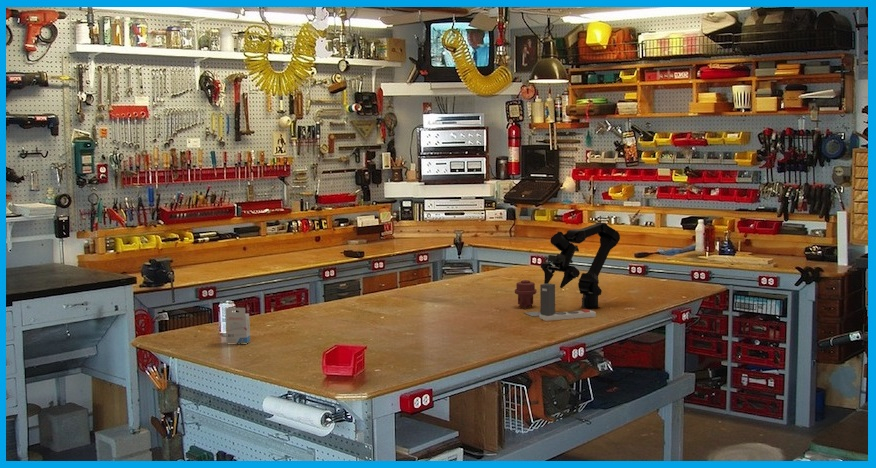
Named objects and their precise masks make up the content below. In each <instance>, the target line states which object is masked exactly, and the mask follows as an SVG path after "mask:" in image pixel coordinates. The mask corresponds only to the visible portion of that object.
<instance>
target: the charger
mask: <svg viewBox="0 0 876 468" xmlns="http://www.w3.org/2000/svg"><path fill="white" fill-rule="evenodd" d="M539 289H540V290H539V291H540V292H539V293H540V295H539V296H540V297H539V298H540V300H539V301H540V306H539V307H540V311H539V312H540V314H542V315H553V314H555V313H556V284H555V283H545V284H544V283H542V284H540V287H539Z"/></svg>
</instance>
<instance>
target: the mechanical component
mask: <svg viewBox="0 0 876 468" xmlns="http://www.w3.org/2000/svg"><path fill="white" fill-rule="evenodd" d="M535 285H536V284H535V282H533V281H530V279H529V280H527V279H523V280H521V281H517V282H516V285H515V286H516V288H515V289H514V294H516V295H517V304H518V305H519V307H520V308H523V309H524V310H525V309H529V308H533V305H534V295H536V294H537V289H536V288H535Z"/></svg>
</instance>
